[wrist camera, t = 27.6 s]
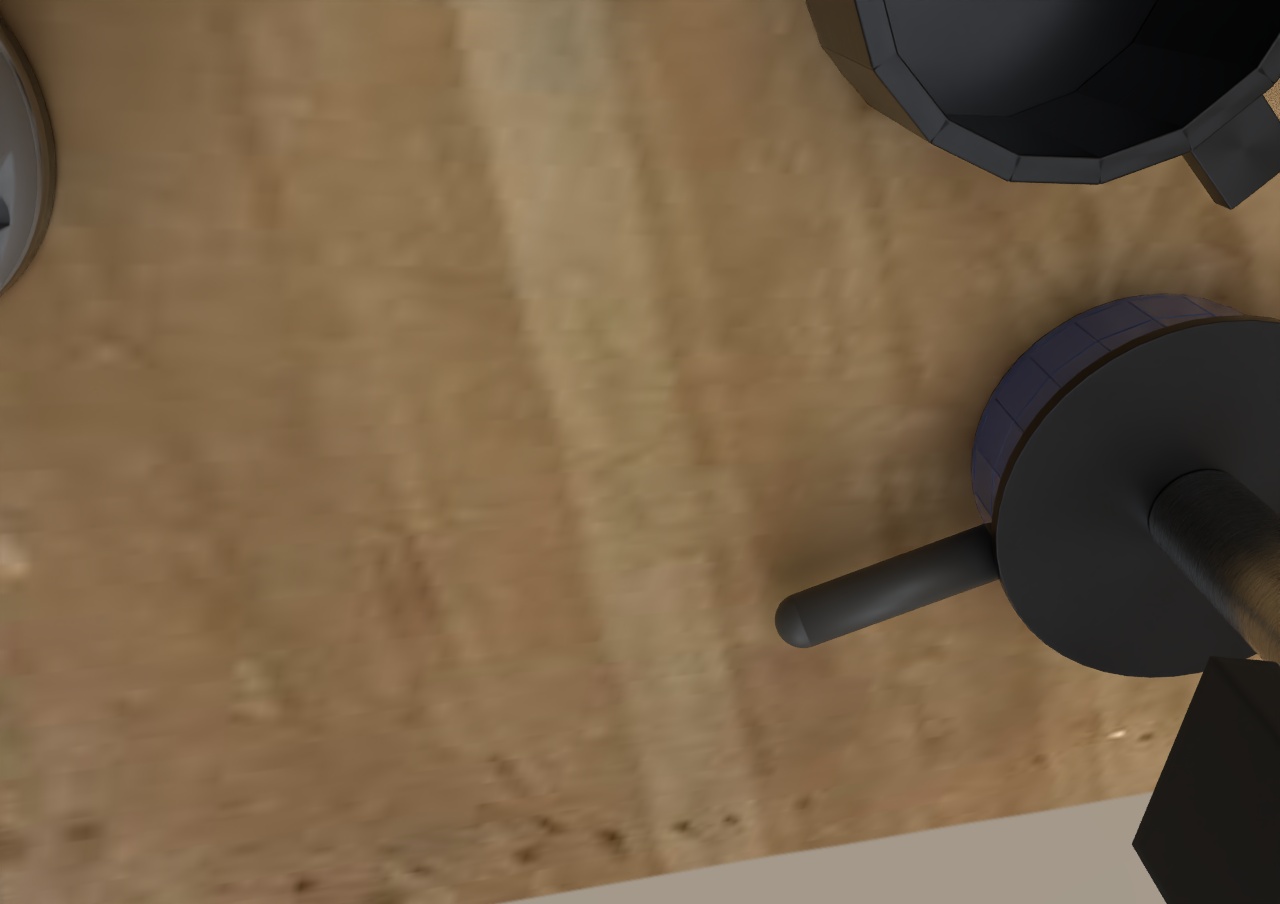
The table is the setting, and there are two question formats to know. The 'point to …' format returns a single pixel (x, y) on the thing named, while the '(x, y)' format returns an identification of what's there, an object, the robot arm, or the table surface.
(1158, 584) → the lid
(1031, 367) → the pan
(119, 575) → the table surface
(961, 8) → the pot
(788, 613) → the pan handle
